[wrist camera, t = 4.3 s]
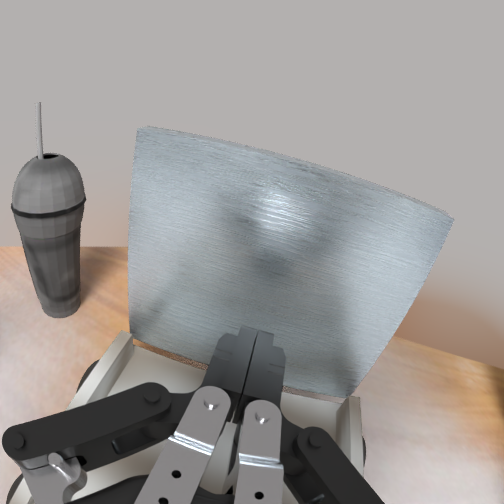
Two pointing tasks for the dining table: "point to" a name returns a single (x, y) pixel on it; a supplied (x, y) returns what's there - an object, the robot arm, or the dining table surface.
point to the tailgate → (271, 256)
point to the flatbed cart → (184, 381)
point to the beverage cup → (51, 226)
